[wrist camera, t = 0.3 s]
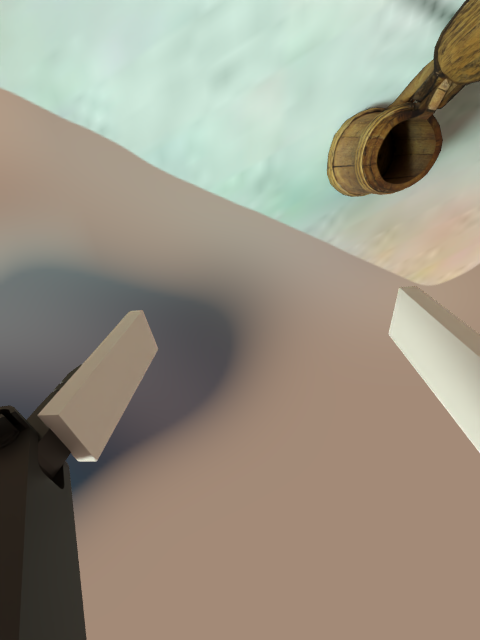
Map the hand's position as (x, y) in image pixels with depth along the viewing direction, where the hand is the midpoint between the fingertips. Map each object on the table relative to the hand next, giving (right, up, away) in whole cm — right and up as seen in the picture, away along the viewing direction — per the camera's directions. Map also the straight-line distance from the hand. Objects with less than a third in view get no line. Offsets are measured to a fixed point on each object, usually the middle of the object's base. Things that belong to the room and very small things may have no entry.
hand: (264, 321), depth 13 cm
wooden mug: (+15, +23, +17) cm, 32 cm away
